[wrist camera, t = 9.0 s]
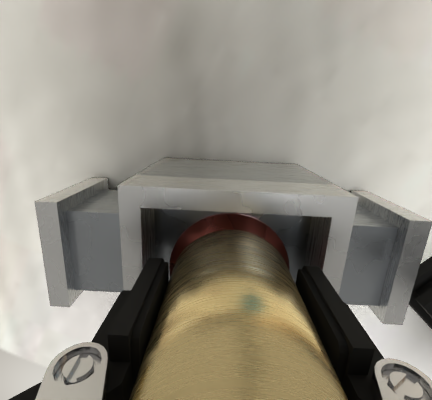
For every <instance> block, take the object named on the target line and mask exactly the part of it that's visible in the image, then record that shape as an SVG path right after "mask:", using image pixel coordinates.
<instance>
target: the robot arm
mask: <svg viewBox="0 0 432 400" xmlns="http://www.w3.org/2000/svg"><path fill="white" fill-rule="evenodd" d="M168 283H169V264H168V262H164V259H163V258H148V260H147V262H146V264H145V265H144V267H143V269H142V271H141V273H140V275H139V277H138V278H137V280H136V282H135V284H134V286H133V288H132V289H131V290H123V291H122V292H121V293H120V295H119V296H118V298H117V300H116V301H115V303H114V305H113V306H112V308H111V310H110V311H109V313H108V315H107V317H106V318H105V320H104V322H103V323H102V325H101V327H100V328H99V330H98V332H97V333H96V335H95V337H94V338H93V340H92V342H84V343H80V344H76V345H73V346H71V347H69V348H67V349H65V350H64V351H62V352H61V353H59V354H58V355H57V356H56V357H55V358H54V359H53V360H52V361H51V363H50V364H49V366H48V368H47V370H46V373H45V375H44V378H43V380H42V382H41V383H39V384H37V385H35V386H33V387H31V388H29V389H27V390H26V391H24V392H22V393H20V394H18V395H16V396H14V397H13V398H11V399H9V400H129V399H130V396H131V393H132V390H133V387H134V384H135V381H136V378H137V375H138V372H139V369H140V366H141V363H142V360H143V357H144V354H145V351H146V348H147V345H148V342H149V339H150V336H151V333H152V330H153V327H154V324H155V321H156V318H157V315H158V312H159V309H160V306H161V303H162V301H163V298H164V295H165V292H166V289H167V286H168ZM296 287H297V289H298V291H299V293H300V295H301V298H302V300H303V302H304V304H305V306H306V309H307V311H308V313H309V315H310V317H311V320H312V322H313V324H314V326H315V328H316V331H317V333H318V335H319V337H320V339H321V342H322V344H323V346H324V348H325V350H326V353H327V355H328V357H329V359H330V361H331V364H332V366H333V368H334V370H335V372H336V375H337V377H338V379H339V381H340V383H341V386H342V388H343V390H344V392H345V394H346V397H347V399H348V400H432V381H431V380H430V379H429V378H428V377H427V376H426V375H425V374H424V373H422V372H421V371H420V370H418V369H417V368H415V367H413V366H411V365H410V364H408V363H405V362H403V361H400V360H396V359H390V358H387V359H384V358H383V356H382V355H381V353H380V352H379V350H378V349H377V347H376V346H375V345H374V343H373V342H372V340H371V339H370V337H369V336H368V334H367V333H366V331H365V330H364V328H363V327H362V326H361V324H360V323H359V321H358V320H357V318H356V317H355V315H354V314H353V312H352V311H351V310H350V308H349V307H348V305H347V304H346V303H344V302H343V301H342V299H341V298H340V297H339V295H338V294H337V292H336V291H335V289H334V288H333V286H332V285H331V283H330V282H329V280H328V279H327V277H326V276H325V274H324V273H323V271H322V270H321V268H320V267H319V266H303V268H302V269H298V272H297V278H296Z"/></svg>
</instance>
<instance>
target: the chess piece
mask: <svg viewBox="0 0 432 400" xmlns="http://www.w3.org/2000/svg"><path fill="white" fill-rule="evenodd" d="M409 305H410V306H411V307H412V308H413V309H414V310H415V311H416V312H417V313H418V315H419V316H420V317H421V318H422V319H423V320H424V321H425V322H426V323H427V324H428V326H429V327H430V328H431V329H432V257H431V258H429V259H428V260H426V261H425V262H423V263H422V264H421V265H420V266H419V270H418V273H417V277H416V280H415V284H414V287H413V290H412V294H411V297H410V301H409Z"/></svg>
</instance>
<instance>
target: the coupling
mask: <svg viewBox="0 0 432 400" xmlns="http://www.w3.org/2000/svg"><path fill="white" fill-rule="evenodd" d="M129 400H348V399H347V397H346V394H345V392H344V390H343V388H342V386H341V383H340V381H339V379H338V377H337V375H336V372H335V370H334V368H333V366H332V364H331V361H330V359H329V357H328V355H327V353H326V350H325V348H324V346H323V344H322V342H321V339H320V337H319V335H318V333H317V331H316V328H315V326H314V324H313V322H312V320H311V317H310V315H309V313H308V311H307V309H306V306H305V304H304V302H303V300H302V298H301V295H300V293H299V291H298V289H297V287H296V284H295V282H294V280H293V278H292V276H291V273H290V271H289V269H288V267H287V265H286V262H285V260H284V259H283V257H282V255H281V254H280V253H279V251H278V250H277V249H276V248H275V247H274V246H273V245H272V244H271V243H269V242H268V241H267V240H265V239H264V238H262V237H260V236H258V235H255V234H253V233H250V232H246V231H241V230H220V231H215V232H211V233H208V234H206V235H203V236H201V237H199V238H198V239H196V240H194V241H193V242H192V243H190V244H189V245H188V246H187V247H186V248H185V249H184V250H183V251H182V253H181V254H180V255H179V257H178V259H177V260H176V263H175V265H174V268H173V271H172V274H171V277H170V280H169V283H168V286H167V289H166V292H165V295H164V298H163V301H162V303H161V306H160V309H159V312H158V315H157V318H156V321H155V324H154V327H153V330H152V333H151V336H150V339H149V342H148V345H147V348H146V351H145V354H144V357H143V360H142V363H141V366H140V369H139V372H138V375H137V378H136V381H135V384H134V387H133V390H132V393H131V396H130V399H129Z"/></svg>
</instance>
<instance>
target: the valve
mask: <svg viewBox="0 0 432 400" xmlns="http://www.w3.org/2000/svg"><path fill="white" fill-rule="evenodd" d="M117 187H118V190H111V189H108V178H95V177H92V178H90V179H87V180H85V181H83V182H80V183H78V184H75V185H73V186H71V187H68V188H66V189H63V190H61V191H59V192H56V193H54V194H51V195H49V196H47V197H44V198H42V199H39V200H37V201H35V207H36V214H37V220H38V227H39V233H40V240H41V247H42V253H43V260H44V267H45V273H46V280H47V286H48V293H49V300H50V306H61V307H70V306H71V305H72V304H73V303H74V301H75V300H76V299H77V298H78V296H79V295H80V294H81V293H82V292H83V290H88V291H107V292H122V291H123V290H131V289H132V288H133V286H134V284H135V282H136V280H137V278H138V277H139V275H140V273H141V271H142V269H143V267H144V265H145V264H146V262H147V260H148V258H163V259H164V262H168V264H169V280H170V277H171V274H172V271H173V268H174V265H175V263H176V260H177V259H178V257H179V255H180V254H181V253H182V251H183V250H184V249H185V248H186V247H187V246H188V245H189V244H190V243H192V242H193V241H194V240H196V239H198V238H199V237H201V236H203V235H206V234H208V233H211V232H215V231H220V230H241V231H246V232H250V233H253V234H255V235H258V236H260V237H262V238H264V239H265V240H267V241H268V242H269V243H271V244H272V245H273V246H274V247H275V248H276V249H277V250H278V251H279V253H280V254H281V255H282V257H283V259H284V260H285V262H286V265H287V267H288V269H289V271H290V273H291V276H292V278H293V280H294V282H295V284H296V278H297V272H298V269H302V268H303V266H319V267H320V268H321V270H322V271H323V273H324V274H325V276H326V277H327V279H328V280H329V282H330V283H331V285H332V286H333V288H334V289H335V291H336V292H337V294H338V295H339V297H340V298H341V299H342V301H343V302H344V303H346V304H352V305H368V306H369V307H370V309H371V310H372V311H373V312H374V314H375V315H376V316H377V317H378V318H379V320H380V321H381V322H382V323H383V324H397V325H403V321H404V318H405V314H406V311H407V307H408V304H409V301H410V297H411V294H412V290H413V287H414V284H415V280H416V277H417V273H418V270H419V266H420V263H421V260H422V256H423V253H424V249H425V246H426V242H427V239H428V236H429V232H430V229H431V225H432V221H430V220H428V219H426V218H424V217H422V216H420V215H417V214H415V213H413V212H411V211H409V210H407V209H405V208H402V207H400V206H398V205H396V204H394V203H392V202H389V201H387V200H385V199H383V198H381V197H379V196H377V195H374V194H372V193H370V192H368V191H356V190H352V191H351V193H350V192H348V191H346V190H344V189H342V188H340V187H339V186H337V185H335V184H333V183H331V182H329V181H327V180H326V179H324V178H322V177H320V176H318V175H316V174H314V173H313V172H311V171H309V170H307V169H305V168H303V167H301V166H300V165H298V164H284V163H263V162H243V161H223V160H202V159H182V158H163V159H161V160H159V161H158V162H156V163H154V164H153V165H151V166H149V167H147V168H146V169H144V170H142V171H141V172H139V173H137V174H136V175H134V176H132V177H131V178H129V179H127V180H125V181H124V182H122V183H120V184H119V185H117Z"/></svg>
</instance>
